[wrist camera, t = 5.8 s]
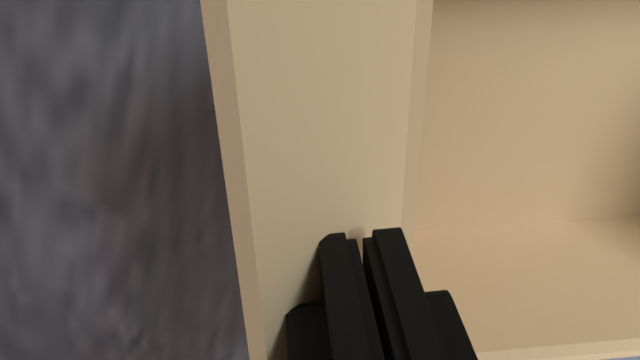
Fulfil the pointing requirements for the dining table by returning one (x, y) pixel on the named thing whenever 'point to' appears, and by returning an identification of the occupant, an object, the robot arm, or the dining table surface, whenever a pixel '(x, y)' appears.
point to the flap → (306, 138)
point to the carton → (528, 173)
